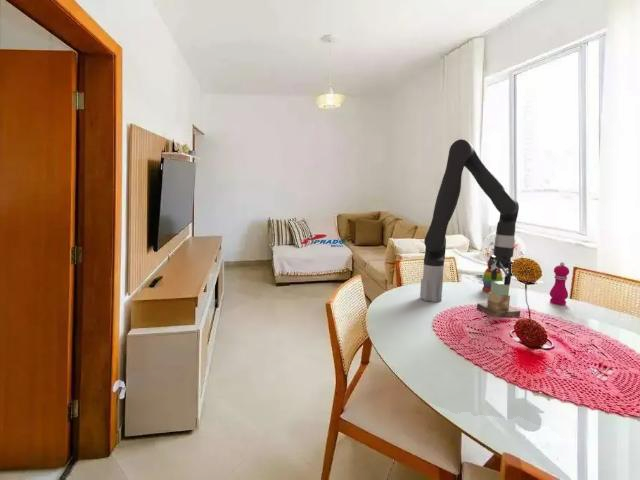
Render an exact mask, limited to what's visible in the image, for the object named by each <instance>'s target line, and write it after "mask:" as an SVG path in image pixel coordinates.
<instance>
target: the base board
mask: <svg viewBox="0 0 640 480" xmlns="http://www.w3.org/2000/svg"><path fill="white" fill-rule="evenodd" d="M476 308H478V310H481V311H483V312H485V313H487V314H488V315H489V316H492V317H494V318H498V317H516V316H517V317H518V316H519V317H520V316H521V310H518V309H517V308H515V307H512V306H510V305H509V309H498V310H496V309H494V308H492V307H490V306H488V302H480V303H479V302H478V303H477V304H476Z"/></svg>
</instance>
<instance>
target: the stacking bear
mask: <svg viewBox="0 0 640 480" xmlns="http://www.w3.org/2000/svg"><path fill="white" fill-rule="evenodd" d="M486 264H487V268H486V269H485V270H484V274H483V276H482V282H483V283H482V284H483V287H482V291H483V292H486V293H489V292H491V282H492V281H503V279H504V278H503V273H502V272H503V271H502V269H500V268H499V269H498V270H497V279H496V280H492V279H491V272H492V271H491V269H489V268H488V266H489V259H488V261H487V263H486ZM492 265H493V264H491V266H492Z"/></svg>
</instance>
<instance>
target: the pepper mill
mask: <svg viewBox="0 0 640 480" xmlns="http://www.w3.org/2000/svg"><path fill="white" fill-rule="evenodd" d="M565 265H566V264H565V262H564V261H563V262H562V261H561V262H560V263H559V264H558V265H556V266H555V267H554V269H553V272H554V281H555V282H554V285H553V286H552V288H551V289H550V291H549V295H550V297H551V298H550V299H549V303H551V304H552V305H555V304H556V306H566V305H565V304H567V299H568V298H569V292H568V290H567V288H566V281H567V280H568V276H569V274H570V269H569V267H567V266H565Z"/></svg>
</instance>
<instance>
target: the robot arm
mask: <svg viewBox="0 0 640 480" xmlns="http://www.w3.org/2000/svg"><path fill="white" fill-rule="evenodd" d="M464 168H466V169H467V170H468V171H469V172H470V174H471V176H473V178H474V180H475V182H476V183H477V184H478V186H479V188H480V189H481V190H482V191H483V192H484V193H485V195H486V196H487V197H488V198H489V199H490V201H491V203H492V205H493V206H494V208H495V210H497V212H499V220H498V221H497V223H496V224H497V225H496V230H495V231H496V232H495V237H494V245H493V252H492V253H493V255H490V256H489V259H488V260H489V266H488V265H487V268H489V269H491V271H492V272H491V279H492V280H496V279H497V270H498V269H499V268H500V270H501V272H504V281H503V282H504V284H505V285H509V286H510V284H511V279H512V277H514V276H513V275H512V273H513V272H512V273H511V264H512V262H513V260H512V259H511V258H513V257H514V249H515V242H516V241H515V239H516V238H515V236H516V235H515V234H516V225H517V224H516V223H517V219H518V217H519V215H518V214H519V209H520V206H519V202H518V200H516V199H514V198H512V197H511V196H510V195H509V194H508V193H507V191H506V189H505V187H504V186H503V185H502V183H501V182H500V181H499V179H497V177H496V176H495V175H494V174H493V173H492V172H491V171H490V170H489V169H488V167H487V166H486V165H485V164H484V163H483V161H481V158H480V157H479V156H478V153H477V152H476V150H475V148H474V146H473V144H472V143H470V142H469V141H468V140H465V139H461V138H460V139H457V140H455V141H454V142H453V143H452V144H451V145H450V147H449V150H448V155H447V163H446V167H445V170H444V173H443V177H442V180H441V182H440V186H439V190H438V193H437V196H436V199H435V203H434V204H435V205H434V209H433V213H432V219H431V223H430V225H429V227H428V230H427V232H426V235H425V236H424V240H423V241H424V242H423V243H424V246H425V248H424V250H425V251H424V256H423V257H424V259H423V272H422V278H421V279H420V289H419V291H420V293H419V297H420V299H422V300H423V301H425V302H432V303H436V302H437V303H438V302H439V303H440V302H441V301H442V299H443V298H442V297H443V286H444V285H443V283H444V271H445V270H444V267H445V259H446V250H447V249H446V248H447V247H446V246H447V237H446V234H447V230H448V225H449V223H450V221H451V219H452V217H453V214H454V212H455V210H456V207H457V205H458V201H459V199H460V194H461V189H462V175H463V171H464ZM491 264H493V265H492V266H491Z"/></svg>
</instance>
